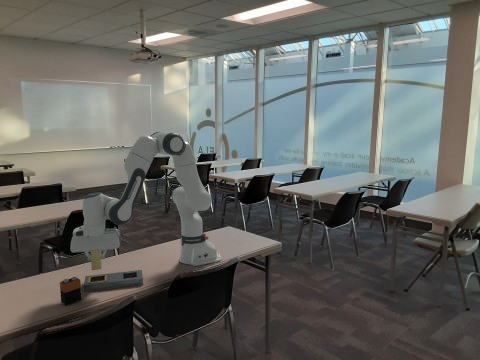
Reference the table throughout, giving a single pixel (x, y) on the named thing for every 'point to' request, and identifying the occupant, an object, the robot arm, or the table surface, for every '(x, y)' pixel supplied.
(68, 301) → the battery
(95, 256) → the brass block
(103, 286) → the grey socket board
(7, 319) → the table surface
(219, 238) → the table surface
